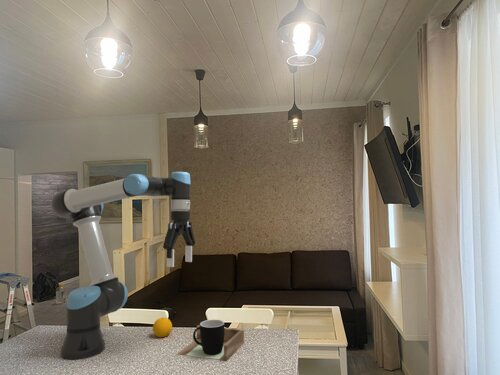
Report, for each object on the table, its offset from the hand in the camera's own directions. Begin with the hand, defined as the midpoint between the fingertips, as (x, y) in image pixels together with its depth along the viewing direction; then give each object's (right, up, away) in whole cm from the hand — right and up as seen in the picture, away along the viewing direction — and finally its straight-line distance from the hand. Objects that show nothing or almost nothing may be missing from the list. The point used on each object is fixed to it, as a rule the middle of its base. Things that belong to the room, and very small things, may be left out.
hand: (179, 264), depth 138 cm
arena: (+13, -31, -8) cm, 34 cm away
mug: (+13, -30, -11) cm, 34 cm away
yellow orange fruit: (-9, -33, +10) cm, 36 cm away
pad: (+13, -30, -11) cm, 34 cm away
